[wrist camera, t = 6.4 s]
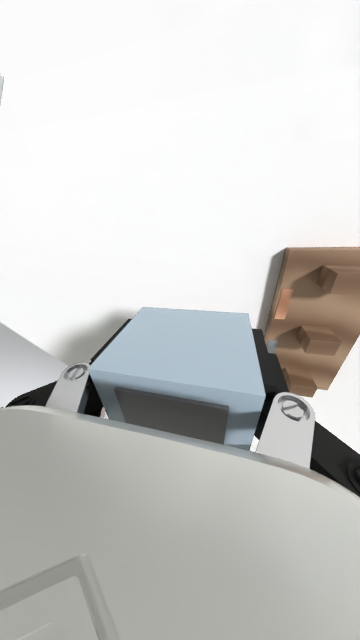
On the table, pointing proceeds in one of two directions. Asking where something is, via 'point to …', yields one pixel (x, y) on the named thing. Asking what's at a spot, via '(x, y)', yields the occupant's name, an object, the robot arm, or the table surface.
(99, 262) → the table surface
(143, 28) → the table surface
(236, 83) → the table surface
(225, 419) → the slate plug
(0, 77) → the small box
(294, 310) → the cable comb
